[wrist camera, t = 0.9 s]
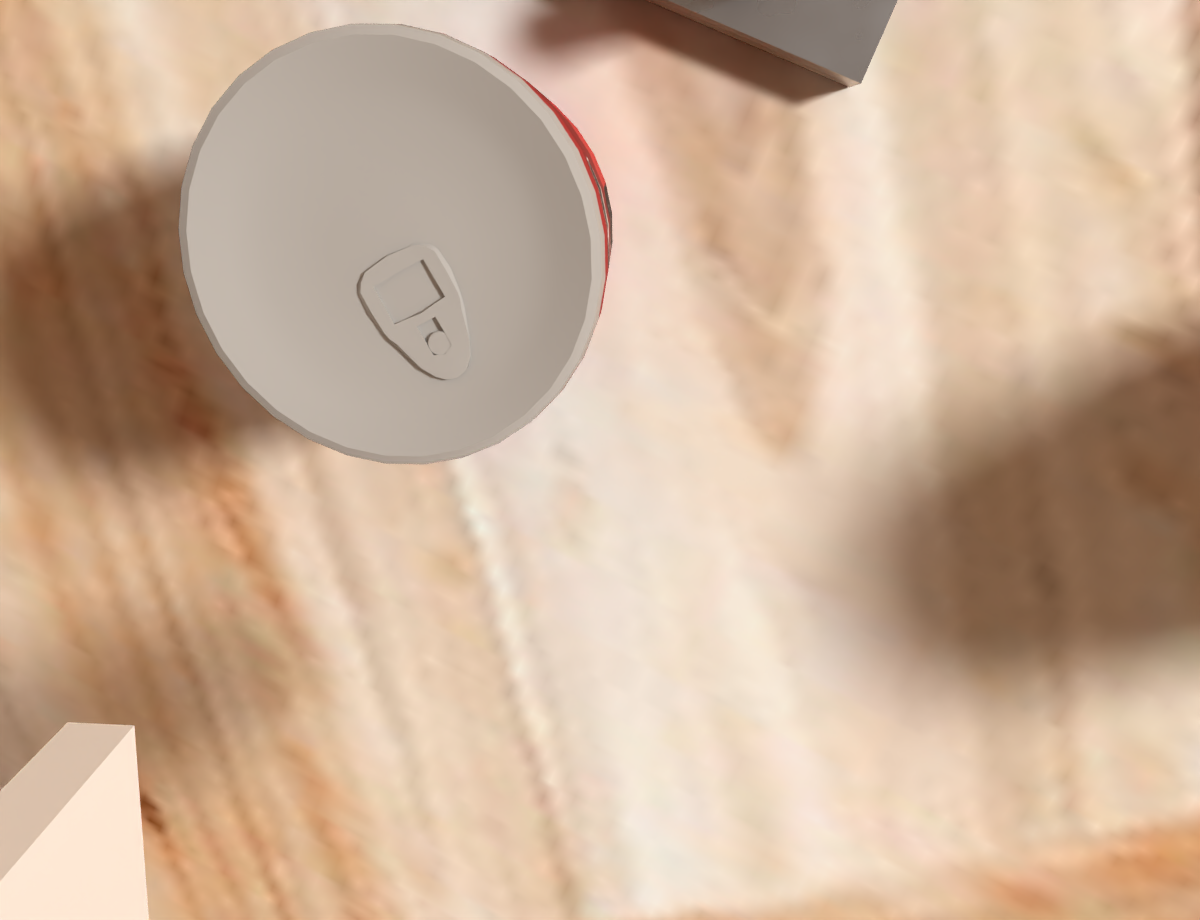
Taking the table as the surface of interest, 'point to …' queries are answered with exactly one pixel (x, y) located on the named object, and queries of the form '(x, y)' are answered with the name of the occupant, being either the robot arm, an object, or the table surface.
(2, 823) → the robot arm
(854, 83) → the plate
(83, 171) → the table surface
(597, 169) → the canned food
